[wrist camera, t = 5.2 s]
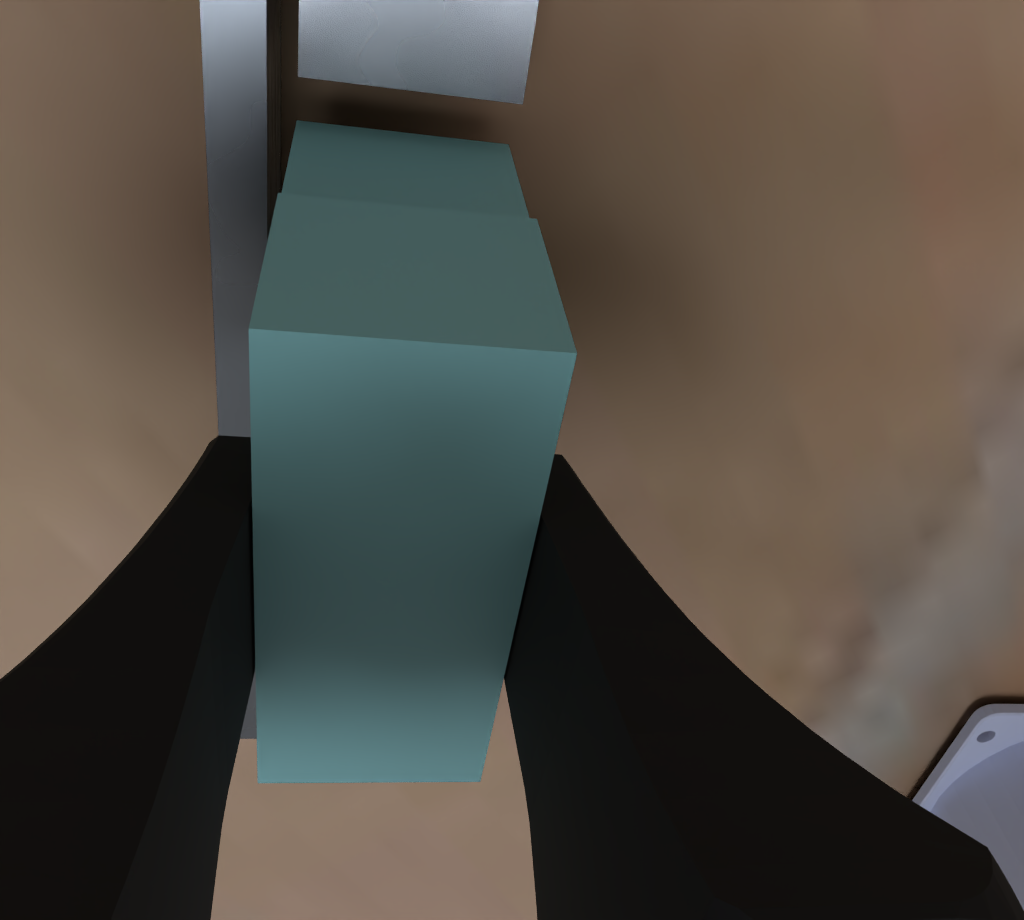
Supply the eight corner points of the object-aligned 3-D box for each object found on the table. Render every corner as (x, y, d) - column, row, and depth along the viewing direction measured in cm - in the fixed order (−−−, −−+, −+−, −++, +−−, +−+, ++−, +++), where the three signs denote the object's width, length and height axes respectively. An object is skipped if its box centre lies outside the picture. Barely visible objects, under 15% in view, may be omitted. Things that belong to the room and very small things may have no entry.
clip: (454, 499, 18) (479, 781, 13) (292, 492, 17) (257, 783, 13) (510, 130, 14) (576, 352, 9) (296, 105, 13) (249, 328, 8)
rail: (421, 662, 23) (424, 738, 21) (243, 659, 22) (231, 738, 21) (580, -464, 11) (615, -499, 9) (208, -550, 10) (173, -605, 9)
